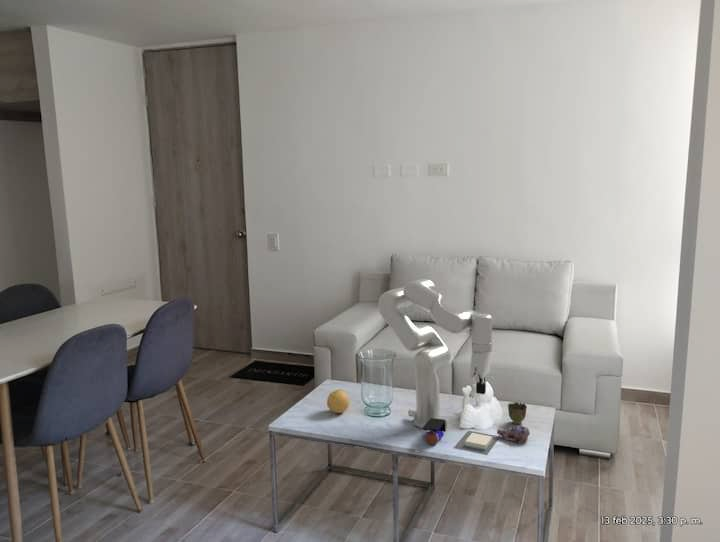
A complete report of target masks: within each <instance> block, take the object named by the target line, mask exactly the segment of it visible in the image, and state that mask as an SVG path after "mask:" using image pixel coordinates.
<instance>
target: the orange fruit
mask: <svg viewBox="0 0 720 542" xmlns="http://www.w3.org/2000/svg"><path fill="white" fill-rule="evenodd" d="M350 403H351V400H350V397H349V395H348V394H347V392H346V391H344V390H343V389H336V390H333V391H332V392H330V393H329V395H328V397H327V400H326V405H327V408H328V410H329V411H330V412H332V413H335V414H341V413H344V412H346V410H348V408H349V407H350Z"/></svg>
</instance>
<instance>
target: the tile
mask: <svg viewBox="0 0 720 542" xmlns="http://www.w3.org/2000/svg"><path fill="white" fill-rule="evenodd" d="M491 443H492V437H491V436H486V435H481V434H475V433H472V434H471V435H470V436H469V437H468V438H467V440H466V441H465V446H467V447H472V448H477V449H482V450H486V449H487V448H488V447H489V445H490V444H491Z"/></svg>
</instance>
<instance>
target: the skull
mask: <svg viewBox="0 0 720 542" xmlns="http://www.w3.org/2000/svg"><path fill="white" fill-rule="evenodd" d="M496 434H497V435H498V436H500V437H501V439H503V440H506V441H515V443H517V444H521V443H525V442H527V441H528V439H529V436H530V434H531V433H530V429H529V427H526V426H522V425H515V426H512V427H509V428H499V429H497V431H496Z"/></svg>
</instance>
